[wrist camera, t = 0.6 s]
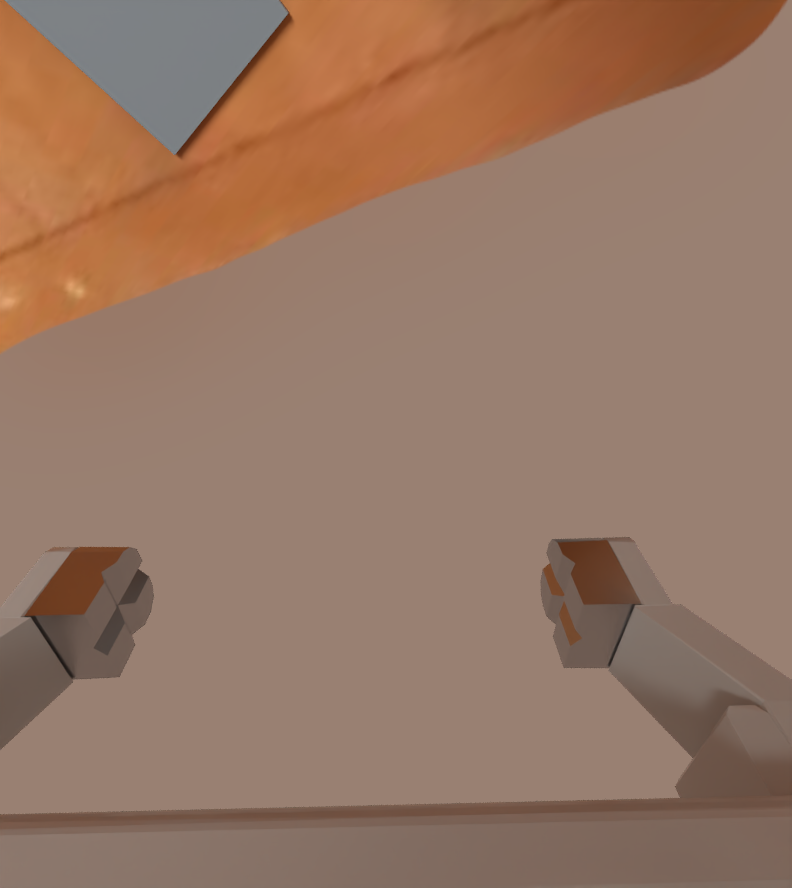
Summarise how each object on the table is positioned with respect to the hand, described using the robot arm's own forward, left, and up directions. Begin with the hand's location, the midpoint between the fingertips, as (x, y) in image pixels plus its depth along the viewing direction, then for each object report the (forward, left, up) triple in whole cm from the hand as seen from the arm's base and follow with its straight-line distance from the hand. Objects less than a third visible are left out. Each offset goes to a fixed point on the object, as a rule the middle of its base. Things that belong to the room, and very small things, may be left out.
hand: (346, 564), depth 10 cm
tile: (-11, -9, -49) cm, 51 cm away
